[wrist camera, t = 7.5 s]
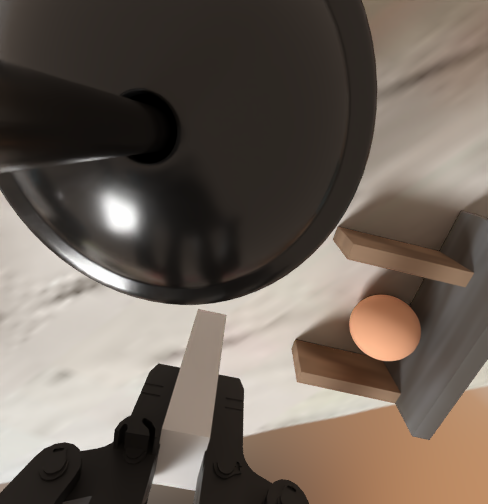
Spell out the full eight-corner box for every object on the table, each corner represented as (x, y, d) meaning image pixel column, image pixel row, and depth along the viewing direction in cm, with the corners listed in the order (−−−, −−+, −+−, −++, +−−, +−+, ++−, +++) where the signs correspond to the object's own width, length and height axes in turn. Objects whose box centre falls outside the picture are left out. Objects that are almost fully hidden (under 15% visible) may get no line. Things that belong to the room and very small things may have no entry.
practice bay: (291, 348, 24) (301, 412, 18) (353, 183, 19) (394, 203, 13) (390, 370, 24) (429, 439, 19) (478, 214, 19) (568, 246, 14)
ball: (405, 386, 19) (395, 342, 23) (443, 337, 17) (426, 298, 21) (338, 357, 20) (340, 319, 23) (367, 306, 18) (364, 274, 21)
